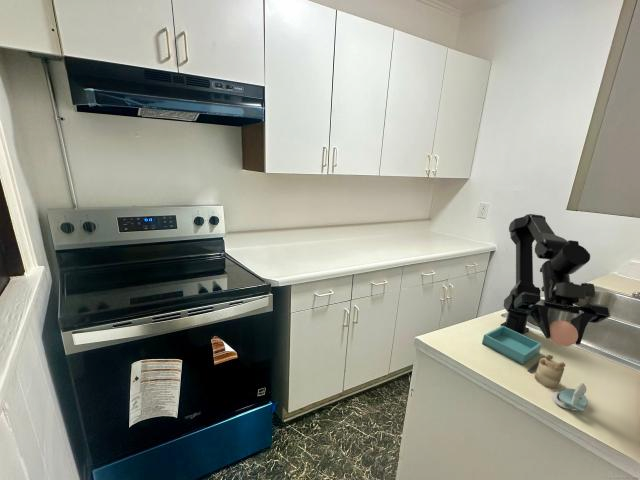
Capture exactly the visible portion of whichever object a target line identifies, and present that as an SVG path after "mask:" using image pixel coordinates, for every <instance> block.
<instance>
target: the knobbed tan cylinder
mask: <svg viewBox="0 0 640 480" xmlns="http://www.w3.org/2000/svg"><path fill="white" fill-rule="evenodd" d="M549 355H550V354H546V355H545V356H544V357H541V358H540V359H539V361H538V362H539V365H538V368H537V369H536V370H535V371H536V372H535V374H534V379H535V380H536V382H537V383H539V384H540V385H542V386H544V387H545V388H548V389H549V388H550V389H558V388H559V387H560V383H561V380H562V377H563V374H564V371H565V367H566V363H565V362H563V361H561V362H559V361H556V360H554V359H552V358H551V357H550V356H549Z"/></svg>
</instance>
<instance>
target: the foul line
mask: <svg viewBox="0 0 640 480" xmlns="http://www.w3.org/2000/svg"><path fill="white" fill-rule="evenodd" d="M548 355H549V356H550V357H551V359H552V358H553V355H551V354H548ZM538 365H539V361H538V362H536V363H535V364H533V365H532V366H531V367H530V368H528V369H527V372H529V373H530V374H532V373H533V372H535V371H537V368H538Z"/></svg>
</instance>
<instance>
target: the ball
mask: <svg viewBox="0 0 640 480" xmlns="http://www.w3.org/2000/svg"><path fill="white" fill-rule="evenodd" d="M549 323H550V324H549V328H550V338H549V340H550V341H551V342H552V343H553V344H555V345H558V346H561V347H569V346H572V345H574V344H576V343H575V342H576V341H577V339H578V332H577V329H576V328H575V327H574V326H573V325H572V324H571V322H569V321H566V320H561V319H559V320H554V321H552V322H549Z"/></svg>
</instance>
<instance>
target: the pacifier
mask: <svg viewBox="0 0 640 480" xmlns="http://www.w3.org/2000/svg"><path fill="white" fill-rule="evenodd" d="M586 392H587V386H586V384H585V383H584V382H583V383H580V384H579V385H578V386H577V387H576V388H565V389H564V390H562V391H561V390H558V391H555V392H553V393H552V399H553V402H554V403H555V404H556V405H558V406H559V407H561V408H564V409H567V410H568V409H570V410H571V409H577V410H578V411H581V412H585V408H584V407H585V406H586V405H587V403H588V399H587V396H586V395H585V394H586ZM558 398H559V399H560V400H561V401H562V402H563V403H562V402H561V401H560V400H559V399H558ZM580 399H581V400H580ZM565 404H566V405H565Z"/></svg>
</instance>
